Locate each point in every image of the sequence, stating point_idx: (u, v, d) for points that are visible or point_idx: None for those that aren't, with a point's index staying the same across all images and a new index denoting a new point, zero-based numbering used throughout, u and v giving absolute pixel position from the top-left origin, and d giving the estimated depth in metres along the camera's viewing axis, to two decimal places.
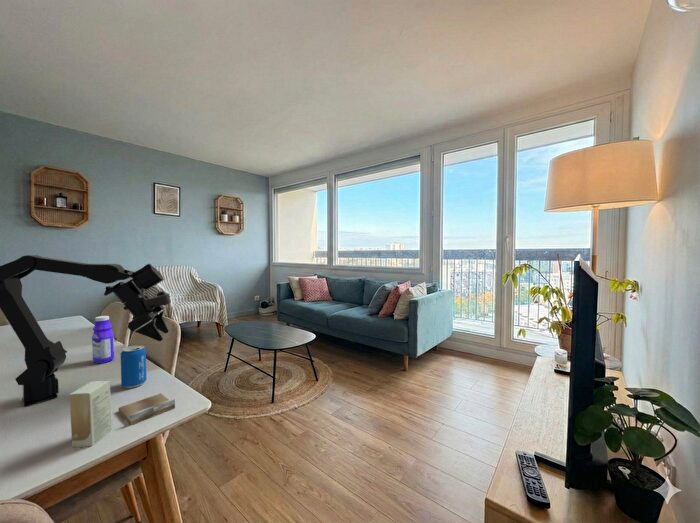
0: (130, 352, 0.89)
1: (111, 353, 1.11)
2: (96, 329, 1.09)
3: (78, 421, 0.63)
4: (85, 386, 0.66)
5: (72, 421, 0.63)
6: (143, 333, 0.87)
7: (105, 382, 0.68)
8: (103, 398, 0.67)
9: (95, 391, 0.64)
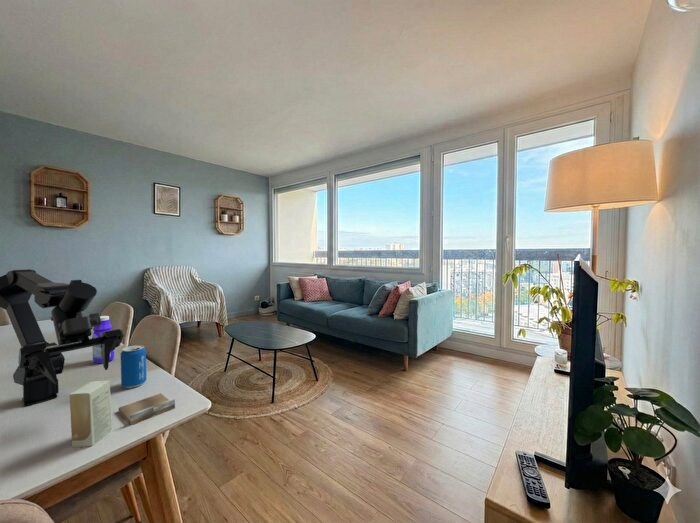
0: (130, 352, 0.89)
1: (111, 353, 1.11)
2: (96, 329, 1.09)
3: (78, 421, 0.63)
4: (85, 386, 0.66)
5: (72, 421, 0.63)
6: (40, 370, 0.67)
7: (105, 382, 0.68)
8: (103, 398, 0.67)
9: (95, 391, 0.64)
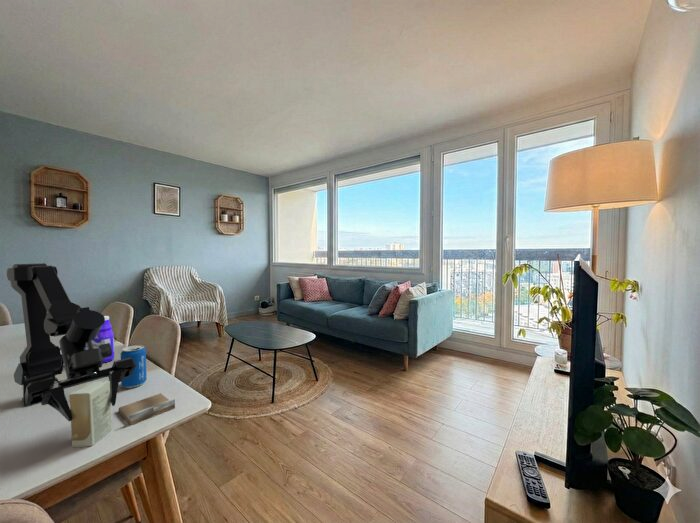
0: (130, 352, 0.89)
1: None
2: None
3: (78, 421, 0.63)
4: (85, 386, 0.66)
5: (72, 421, 0.63)
6: (54, 406, 0.63)
7: (105, 382, 0.68)
8: (103, 398, 0.66)
9: (95, 391, 0.64)
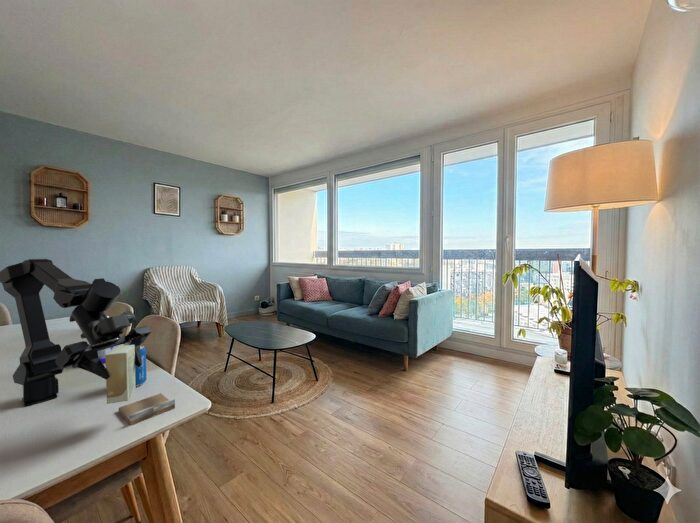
0: None
1: None
2: None
3: (114, 379, 0.69)
4: (114, 349, 0.71)
5: (108, 379, 0.68)
6: (85, 368, 0.67)
7: (131, 345, 0.74)
8: (132, 359, 0.73)
9: (129, 351, 0.71)
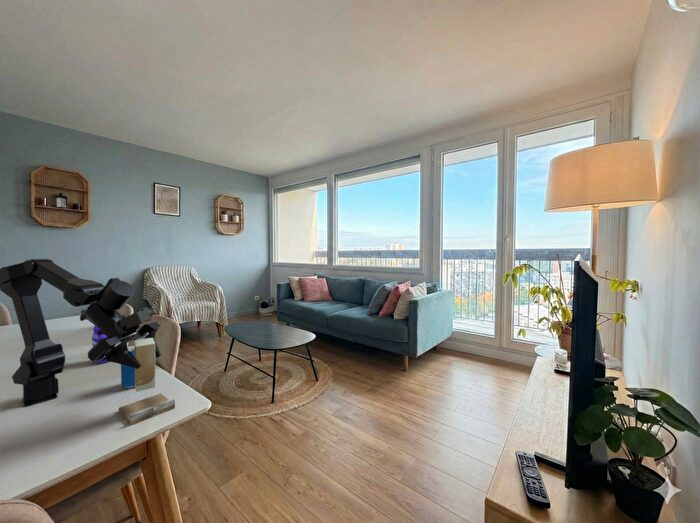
0: (130, 352, 0.89)
1: None
2: (96, 329, 1.09)
3: (144, 368, 0.75)
4: (138, 342, 0.77)
5: (137, 369, 0.74)
6: (115, 361, 0.72)
7: (151, 338, 0.80)
8: None
9: (154, 343, 0.78)
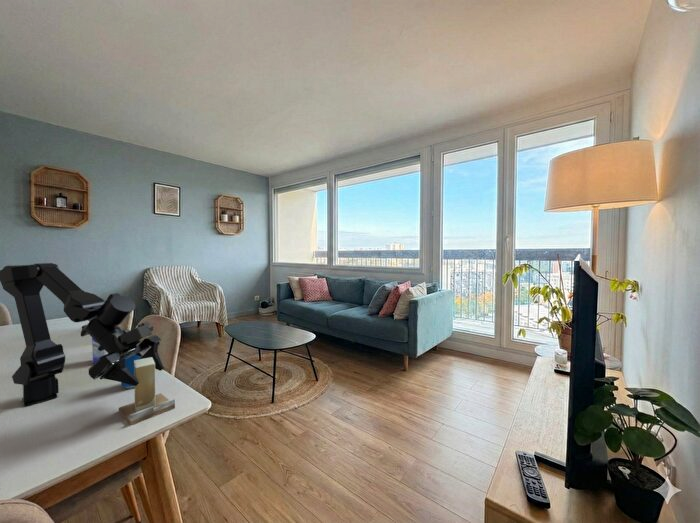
0: None
1: None
2: None
3: (144, 389, 0.75)
4: (138, 362, 0.77)
5: (137, 390, 0.74)
6: (112, 378, 0.72)
7: (151, 358, 0.80)
8: None
9: None
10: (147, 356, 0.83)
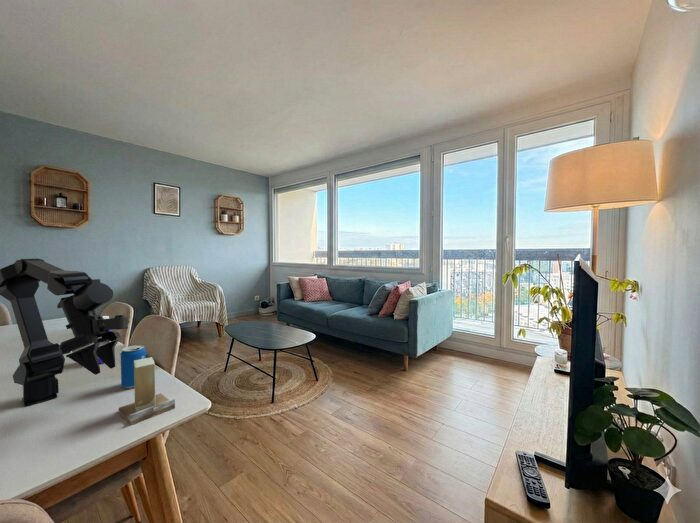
0: (130, 352, 0.89)
1: None
2: None
3: (144, 389, 0.75)
4: (137, 362, 0.77)
5: (137, 390, 0.75)
6: (77, 360, 0.69)
7: (150, 358, 0.80)
8: None
9: (154, 363, 0.78)
10: (102, 350, 0.80)
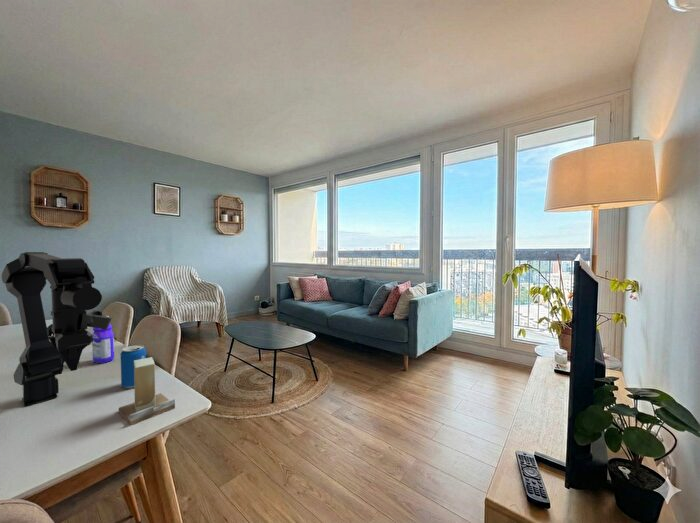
0: (130, 352, 0.89)
1: (111, 353, 1.11)
2: (96, 329, 1.09)
3: (144, 389, 0.75)
4: (137, 362, 0.77)
5: (137, 390, 0.75)
6: (63, 354, 0.70)
7: (150, 358, 0.80)
8: None
9: (154, 363, 0.78)
10: None
